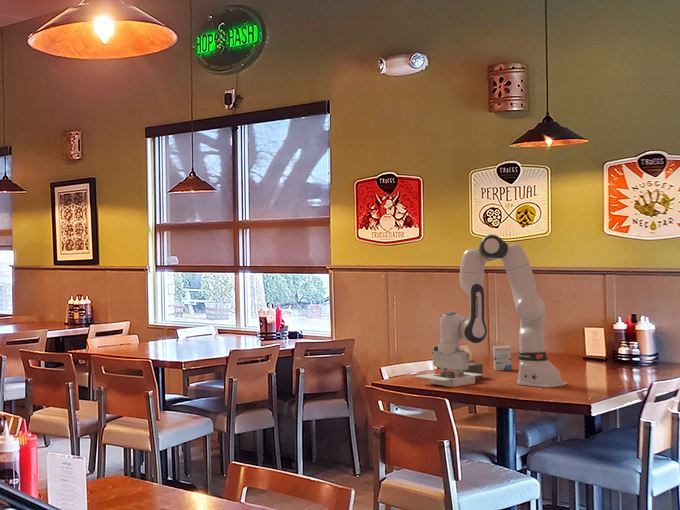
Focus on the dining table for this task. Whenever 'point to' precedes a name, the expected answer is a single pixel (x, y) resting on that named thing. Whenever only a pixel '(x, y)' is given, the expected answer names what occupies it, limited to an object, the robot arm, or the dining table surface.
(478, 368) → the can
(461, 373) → the walnut box
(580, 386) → the dining table surface
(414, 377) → the sage mat
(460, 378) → the grey tray
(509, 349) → the ink box
